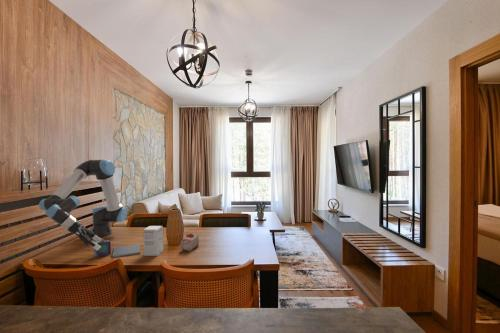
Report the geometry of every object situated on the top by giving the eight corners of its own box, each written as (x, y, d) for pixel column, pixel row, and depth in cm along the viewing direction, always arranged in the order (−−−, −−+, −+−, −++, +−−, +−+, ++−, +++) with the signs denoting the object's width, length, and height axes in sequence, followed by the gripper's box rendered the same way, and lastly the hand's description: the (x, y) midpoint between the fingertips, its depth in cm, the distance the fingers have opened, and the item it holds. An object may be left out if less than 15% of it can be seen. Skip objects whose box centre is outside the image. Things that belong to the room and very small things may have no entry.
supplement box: (149, 250, 173) (149, 225, 172) (163, 250, 173) (163, 225, 172) (143, 256, 163) (142, 229, 163) (158, 255, 163) (157, 229, 163)
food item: (191, 252, 169) (190, 237, 169) (179, 251, 171) (179, 236, 171) (199, 245, 182) (199, 231, 182) (189, 244, 184) (189, 231, 184)
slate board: (114, 249, 177) (114, 247, 177) (139, 245, 184) (139, 243, 184) (112, 257, 161) (112, 256, 161) (140, 253, 167) (140, 251, 167)
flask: (94, 257, 162) (93, 240, 162) (94, 255, 165) (94, 239, 165) (110, 254, 166) (110, 238, 166) (110, 253, 169) (110, 237, 169)
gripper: (71, 225, 168) (98, 244, 175) (61, 234, 146) (92, 256, 152) (80, 216, 171) (107, 235, 177) (72, 224, 148) (103, 246, 154)
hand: (100, 245), depth 164 cm, fingers open, 13 cm apart
